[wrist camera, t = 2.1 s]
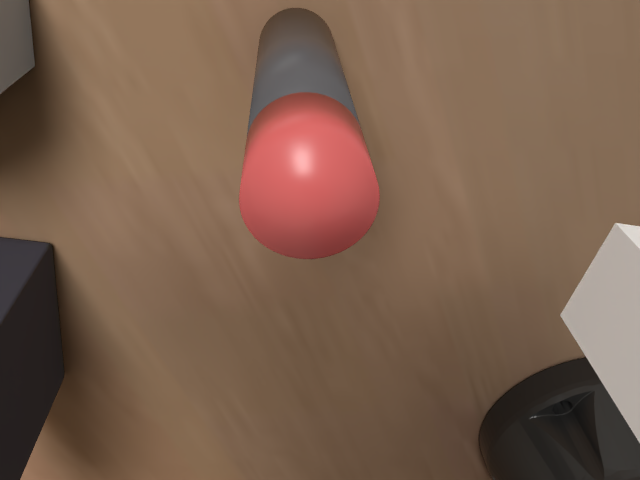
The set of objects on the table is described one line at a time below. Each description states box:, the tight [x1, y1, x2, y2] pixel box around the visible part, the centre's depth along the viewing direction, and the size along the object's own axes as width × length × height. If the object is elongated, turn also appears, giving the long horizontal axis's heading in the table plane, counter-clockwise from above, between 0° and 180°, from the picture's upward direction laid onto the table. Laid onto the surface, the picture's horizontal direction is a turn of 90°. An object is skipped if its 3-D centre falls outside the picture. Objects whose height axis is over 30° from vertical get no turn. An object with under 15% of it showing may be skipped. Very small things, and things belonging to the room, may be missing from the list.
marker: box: [239, 8, 380, 259], centre depth 19 cm, size 3×3×14 cm
